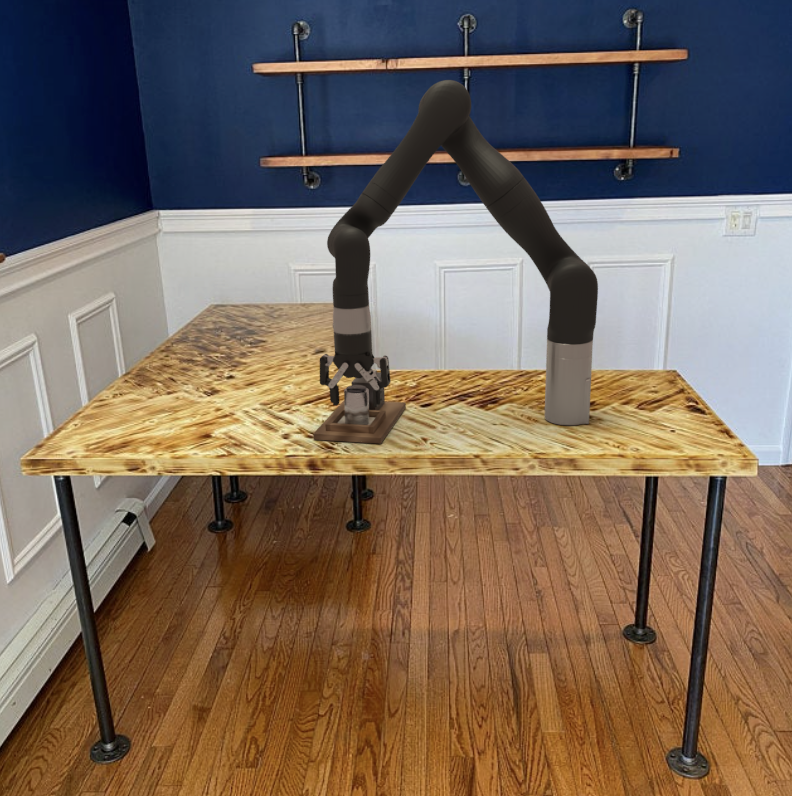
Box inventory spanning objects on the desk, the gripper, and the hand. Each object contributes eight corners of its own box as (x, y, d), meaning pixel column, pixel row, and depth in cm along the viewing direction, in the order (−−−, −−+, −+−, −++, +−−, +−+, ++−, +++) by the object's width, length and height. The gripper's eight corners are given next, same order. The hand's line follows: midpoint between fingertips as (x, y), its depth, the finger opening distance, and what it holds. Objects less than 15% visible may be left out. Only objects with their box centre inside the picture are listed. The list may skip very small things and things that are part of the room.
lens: (372, 419, 172) (371, 385, 170) (365, 427, 168) (364, 392, 165) (349, 417, 173) (348, 383, 171) (341, 425, 169) (340, 390, 167)
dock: (405, 407, 183) (404, 368, 180) (381, 443, 163) (379, 400, 160) (345, 404, 186) (343, 365, 183) (313, 439, 166) (310, 396, 163)
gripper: (391, 324, 166) (394, 401, 171) (324, 322, 169) (328, 398, 174) (382, 333, 159) (385, 413, 164) (312, 331, 162) (317, 409, 167)
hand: (356, 405), depth 169 cm, fingers open, 8 cm apart
